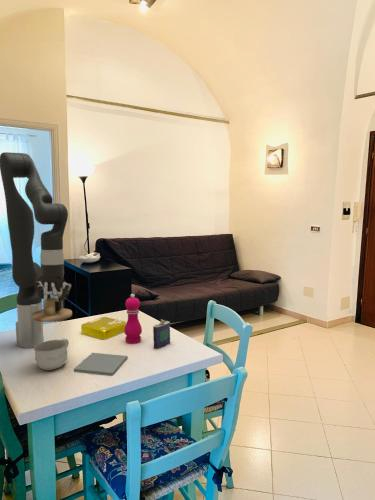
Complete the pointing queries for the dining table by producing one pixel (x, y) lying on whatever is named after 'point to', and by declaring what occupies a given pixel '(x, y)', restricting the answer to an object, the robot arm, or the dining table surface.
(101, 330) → the element tile
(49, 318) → the lid
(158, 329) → the flask
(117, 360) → the mat
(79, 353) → the dining table surface
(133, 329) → the pepper mill
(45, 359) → the teacup
